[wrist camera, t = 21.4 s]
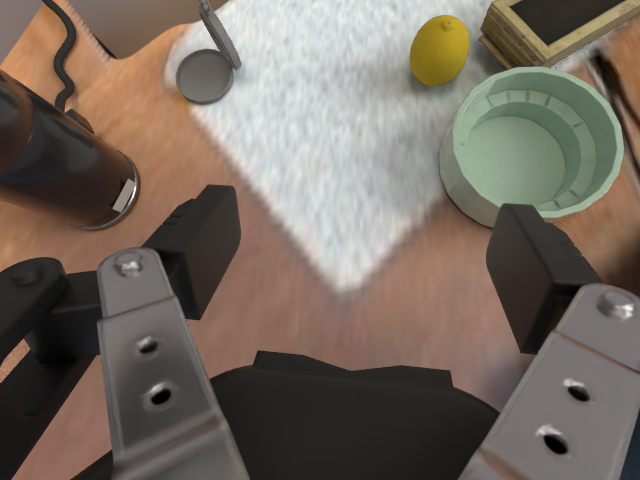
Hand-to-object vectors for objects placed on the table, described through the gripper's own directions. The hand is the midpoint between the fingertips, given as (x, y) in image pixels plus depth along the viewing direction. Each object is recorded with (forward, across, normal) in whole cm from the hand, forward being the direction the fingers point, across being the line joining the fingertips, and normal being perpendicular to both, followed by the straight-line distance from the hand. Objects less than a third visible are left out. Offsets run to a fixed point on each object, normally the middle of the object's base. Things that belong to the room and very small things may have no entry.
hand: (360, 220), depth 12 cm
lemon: (+36, -7, +2) cm, 36 cm away
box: (+41, -21, -3) cm, 46 cm away
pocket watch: (+35, +18, +3) cm, 39 cm away
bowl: (+28, -15, +9) cm, 33 cm away
